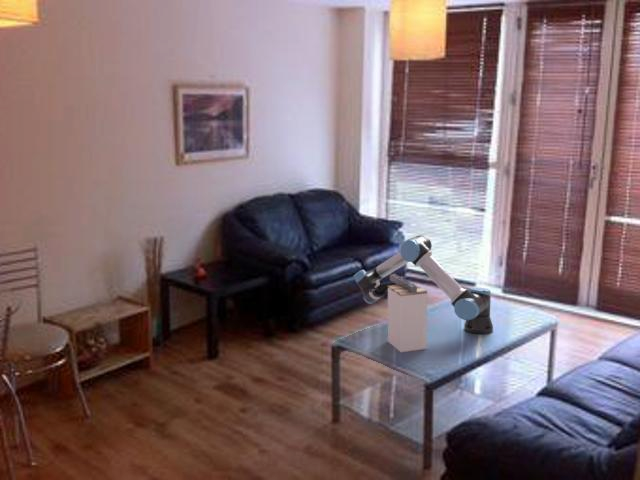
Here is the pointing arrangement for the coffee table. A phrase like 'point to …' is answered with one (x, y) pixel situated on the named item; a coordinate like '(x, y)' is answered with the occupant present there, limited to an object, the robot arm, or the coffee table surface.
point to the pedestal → (407, 318)
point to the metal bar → (403, 283)
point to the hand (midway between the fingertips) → (390, 280)
